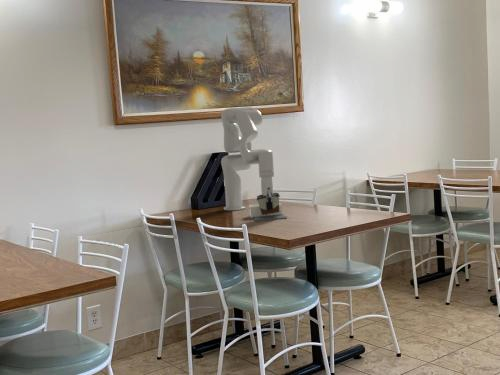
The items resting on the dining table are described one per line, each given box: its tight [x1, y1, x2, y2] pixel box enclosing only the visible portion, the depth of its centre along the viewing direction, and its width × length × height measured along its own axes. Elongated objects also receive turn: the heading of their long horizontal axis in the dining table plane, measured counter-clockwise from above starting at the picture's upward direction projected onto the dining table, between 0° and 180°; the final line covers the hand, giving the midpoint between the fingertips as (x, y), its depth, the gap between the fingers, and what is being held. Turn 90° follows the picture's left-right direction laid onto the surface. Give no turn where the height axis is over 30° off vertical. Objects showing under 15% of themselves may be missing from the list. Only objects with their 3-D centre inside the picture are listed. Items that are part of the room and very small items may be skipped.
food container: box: [256, 192, 281, 215], centre depth 329 cm, size 12×6×10 cm, turn 95°
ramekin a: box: [248, 203, 266, 219], centre depth 336 cm, size 8×8×6 cm
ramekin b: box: [267, 202, 283, 216], centre depth 337 cm, size 8×8×6 cm
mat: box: [252, 213, 288, 222], centre depth 329 cm, size 12×16×1 cm
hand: (268, 208), depth 329 cm, fingers closed on food container, 5 cm apart
